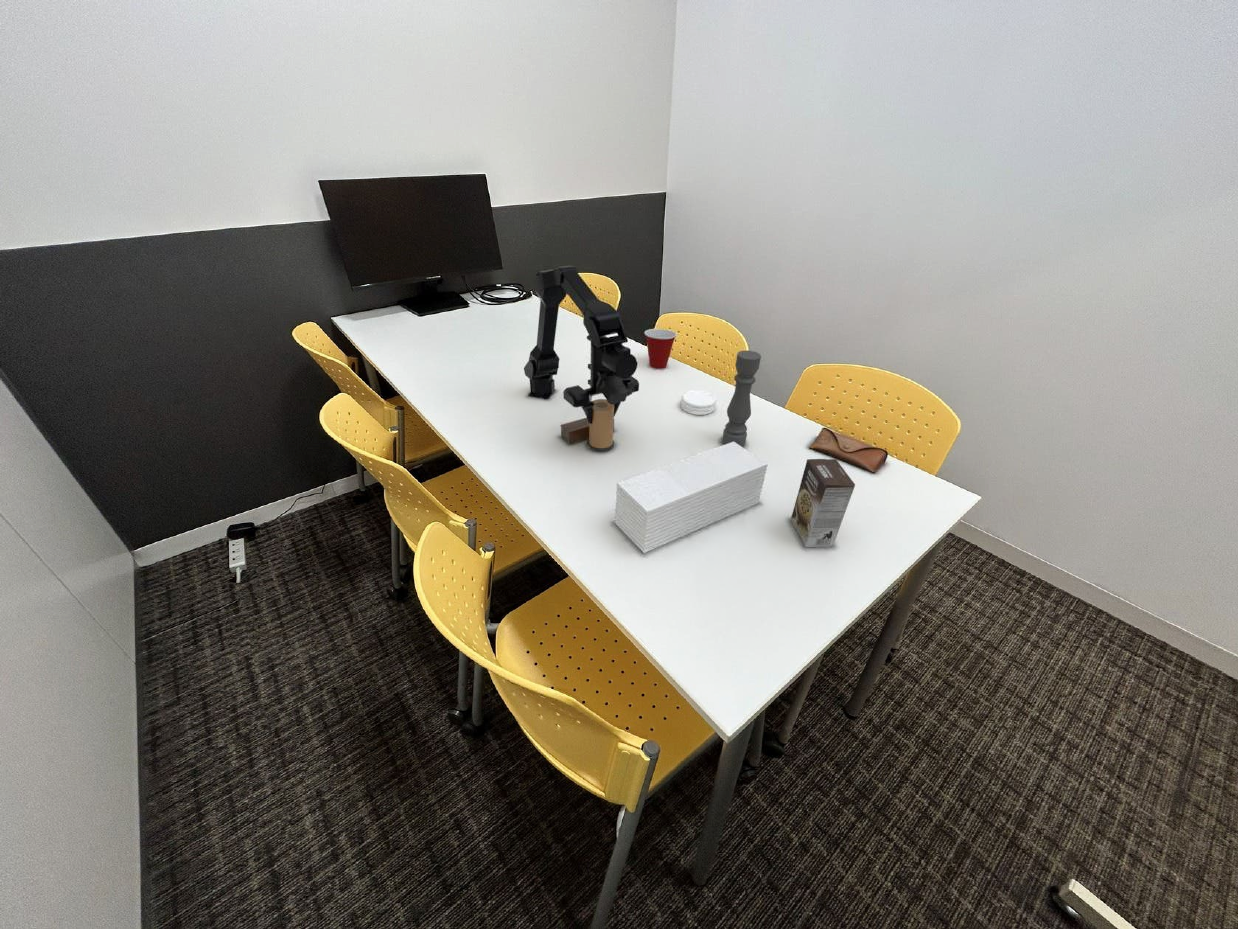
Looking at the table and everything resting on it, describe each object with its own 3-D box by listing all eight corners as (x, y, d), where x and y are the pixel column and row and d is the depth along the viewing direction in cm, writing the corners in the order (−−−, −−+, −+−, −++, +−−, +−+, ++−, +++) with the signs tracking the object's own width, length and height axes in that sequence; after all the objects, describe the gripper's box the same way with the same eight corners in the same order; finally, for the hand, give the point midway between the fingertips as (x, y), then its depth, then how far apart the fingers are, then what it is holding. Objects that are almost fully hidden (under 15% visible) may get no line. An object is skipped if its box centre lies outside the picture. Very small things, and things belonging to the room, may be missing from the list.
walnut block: (560, 436, 142) (560, 424, 140) (605, 423, 149) (605, 411, 147) (569, 444, 139) (568, 432, 137) (614, 430, 146) (614, 418, 144)
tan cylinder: (572, 413, 141) (590, 396, 129) (594, 407, 144) (613, 390, 133) (589, 458, 140) (609, 445, 128) (611, 451, 143) (632, 438, 132)
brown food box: (789, 519, 117) (805, 458, 108) (817, 518, 117) (836, 457, 108) (804, 548, 109) (824, 484, 100) (834, 547, 110) (856, 484, 101)
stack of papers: (643, 553, 106) (647, 511, 100) (615, 523, 114) (616, 482, 108) (758, 503, 121) (767, 463, 115) (726, 479, 129) (733, 441, 122)
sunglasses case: (807, 447, 141) (817, 423, 140) (813, 449, 147) (823, 427, 146) (876, 474, 132) (887, 449, 131) (879, 475, 138) (890, 451, 137)
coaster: (673, 407, 158) (675, 396, 156) (693, 396, 164) (695, 386, 163) (701, 419, 153) (702, 408, 151) (720, 407, 159) (722, 397, 157)
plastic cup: (674, 360, 187) (677, 327, 181) (673, 373, 178) (677, 338, 172) (643, 358, 188) (645, 325, 181) (641, 370, 179) (643, 336, 172)
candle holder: (746, 439, 144) (763, 352, 130) (743, 450, 139) (760, 361, 125) (723, 435, 146) (738, 348, 132) (719, 446, 141) (734, 357, 127)
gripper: (585, 384, 116) (585, 444, 125) (654, 367, 125) (649, 424, 134) (561, 365, 124) (563, 423, 133) (627, 350, 133) (625, 406, 142)
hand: (601, 420), depth 135 cm, fingers closed on tan cylinder, 6 cm apart
